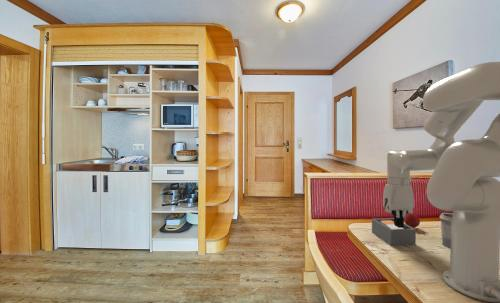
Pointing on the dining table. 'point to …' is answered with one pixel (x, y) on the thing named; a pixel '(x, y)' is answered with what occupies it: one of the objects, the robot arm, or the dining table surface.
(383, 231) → the switch box
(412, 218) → the onion
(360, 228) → the dining table surface
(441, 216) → the cup
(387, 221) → the rocker
